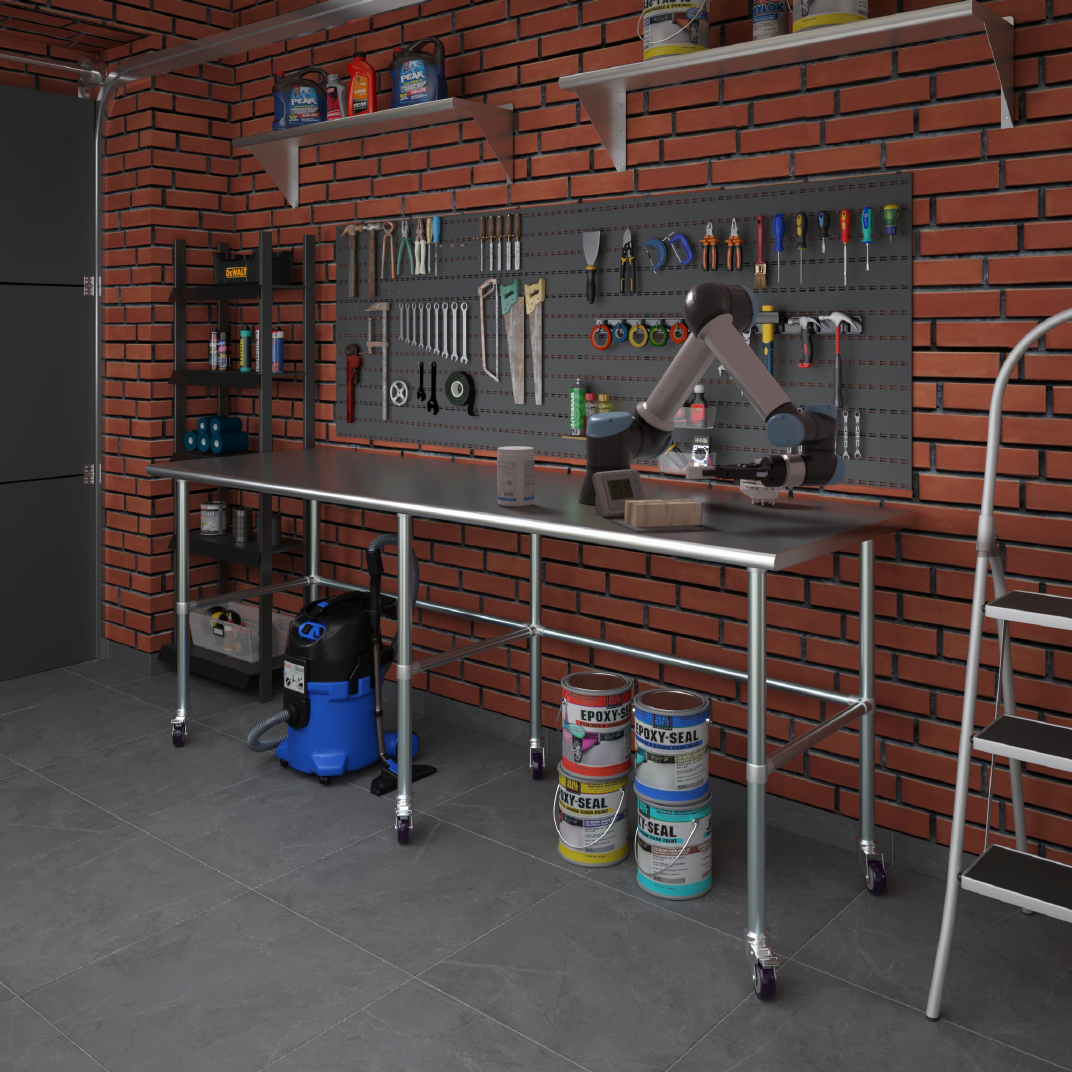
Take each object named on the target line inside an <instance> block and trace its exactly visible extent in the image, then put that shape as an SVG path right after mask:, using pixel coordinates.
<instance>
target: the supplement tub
mask: <svg viewBox="0 0 1072 1072" xmlns="http://www.w3.org/2000/svg"><path fill="white" fill-rule="evenodd" d="M496 457H497V458H496V462H497V465H496V470H497V471H496V474H497V475H496V477H497V479H496V480H497V481H496V484H497V489H496V490H497V504H498V505H500V506H502V507H509V508H510V507H511V508H513V507H514V508H518V507H519V508H522V507H530V506H533V505H534V504H535V491H536V490H535V450H534V447H532V446H521V445H520V446H518V445H517V446H515V445H514V446H513V445H511V446H509V445H508V446H499V447H498V448H497V454H496Z"/></svg>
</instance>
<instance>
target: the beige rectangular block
mask: <svg viewBox="0 0 1072 1072" xmlns="http://www.w3.org/2000/svg"><path fill="white" fill-rule="evenodd" d="M703 504H704V503H703V502H701V501H698V500H694V499H692V498H678V499H676V498H675V499H674V498H673V499H646V500H630V501H625V515H624V519H625V523H627V524H630V525H632V526H634V527H653V526H683V525H695V526H702V524H703V523H702V522H703Z"/></svg>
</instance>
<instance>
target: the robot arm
mask: <svg viewBox="0 0 1072 1072" xmlns="http://www.w3.org/2000/svg"><path fill="white" fill-rule="evenodd" d="M759 308H760V307H759V302H758V299H757V295H756V294H755V293H754V292H753V291H752V290H751V289H750V288H748V287H747V286H745V285H741V284H739V283H734V282H732V283H727V282H726V283H725V282H718V281H712V280H710V281H702V282H699V283H697V284H695V285H694V286H693V287H691V288H690V289H689V291H688V292H687V293H686V296H685V298H684V301H683V304H682V312H683V313H682V314H683V318H684V320H685V322H686V325H687V326H688V329H689V330H690V332H691V333H689V335H688V337H687V338H686V340H685V341H684V343H683V344H682V346H681V348H680V349H679V351H678V353H677V354H676V355H675V357H674V359H673V360H672V362H671V363H670V364H669V366H668V368H667V369H666V371H665V372H664V373H663V375H662V377H661V378H660V380H659V381H658V383H657V384H656V385H655V388H654V389H653V391H652V392H651V394H650V395H649V397H648V398H647V400H646V401H640V402H639V403H637V405H636V406H635V408H634V410H633V411H632V413H630V412H628V411H610V412H600V413H595V414H593V415H591V416H589V417H588V420H587V423H586V424H587V425H586V430H585V431H586V432H585V434H586V436H585V437H586V439H585V440H586V446H585V447H586V448H585V449H586V450H585V451H586V454H585V457H586V459H585V462H586V463H585V474H584V478H583V480H582V483H581V486H580V490H579V493H578V502H579V503H581V504H585V505H593V506H595V501H596V492H595V488H594V483H593V475H594V474H595V473H597V472H604V471H614V470H624V469H626V470H628V469H631V461H637V460H638V461H639V460H653V459H655V458H659V457H661V456H662V455H664V454H665V453H667V452H668V450H669V449H670V447H671V445H672V444H673V439H674V436H673V434H674V429H675V427H676V425H675V421H674V419H675V418H676V416H677V414H678V413H679V411H680V410H681V408H682V407H683V405H684V404H685V402H686V401H687V400H688V398H689V397H690V395H691V394H692V392H693V390H694V389H695V387H696V386H697V385H698V383H700V380H701V379H702V378H703V376H704V375H705V373H706V371H707V370H708V368H709V367H710V366H711V364H712V363H713V361H714V360H715V358H716V359H717V361H718V362H719V363H720V364H721V366H722V367H723V368H724V370H725V371H726V372H727V373H728V375H729V376H730V378H731V379H732V380H733V382H734V383H735V385H736V386H737V387H738V388H739V390H740V391H741V392H742V394H743V395H744V396H745V398H746V399H747V400H748V402H749V403H750V404H751V406H752V407H753V409H755V411H756V412H757V413H758V415H759V416H760V417H761V419H762V420H763V422H764V423H765V424H766V426H765V433H766V438H767V439H768V441H769V442H770V444H771V445H773V446H775V447H778V448H791V449H792V448H795V447H800V446H801V450H802V451H801V454H767V455H764V456H763V457H762V458H761V459H762V460H761V462H760V463H756V462H755V461H754V462H753V461H751V462H747V463H745V462H744V463H741V462H739V463H731V464H730V463H729V464H719V463H716V464H711V465H700V466H698V465H697V466H693V465H691V466H686V467H685V469H686V470H685V479H687V480H701V479H702V480H703V479H705V480H707V479H709V480H711V481H715V479H718V480H719V479H722V480H724V481H726V480H740V479H744V480H755V481H761V483H762V484H763V486H765V487H785V488H788V489H789V490H793V489H794V487H798V488H799V487H801V488H802V487H804V488H805V487H822V488H823V487H829V486H837V485H839V484H840V483H842V481H843V480H844V477H845V476H846V475H845V474H846V466H845V461H844V458H843V457H842V456H841V455H840V454H836V442H837V441H836V439H837V430H838V429H837V428H838V421H839V420H838V407H837V405H835V404H833V403H814V402H813V403H811V402H810V403H807V404H805V405H804V409H803V412H800V411H799V409H798V408H797V406H795V404H794V403H793V402H792V400H791V399H790V398H789V396H788V395H787V394H786V392H785V391H784V390H783V388H782V387H781V386H780V384H779V383H778V382H777V380H776V379H775V378H774V376H773V375H772V374H771V373H770V372H769V370H768V369H767V367H766V366H765V365H764V363H763V362H762V361H761V360H760V358H759V357H758V355H757V354H756V353H755V351H754V350H753V349H752V348H751V347H750V345H749V344H748V342H746V340H745V338H744V337H743V336H742V335H741V334H743V333H745V332H748V331H749V330H750V329H752V328H753V327H754V325H755V324H756V322H757V320H758V317H759V314H760V313H759V312H760V309H759Z"/></svg>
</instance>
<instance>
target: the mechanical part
mask: <svg viewBox="0 0 1072 1072" xmlns="http://www.w3.org/2000/svg"><path fill="white" fill-rule="evenodd" d="M761 460H762V458H754V462H756V463H760V462H761ZM739 481H740V482H739V483H740V486H739V489H740V492H742V493H743V495H744V496H745V495H746V496H748V497H749V498H751V505H754V504H755V503H756V504H759V499H760V500H761V506H765V500H768V504H771V505H772V506H775V499H779V492H783V491H785V490H786V487H765V486H763V484H762V483H761V481H755V480H744V479H739ZM755 499H756V502H755Z"/></svg>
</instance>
